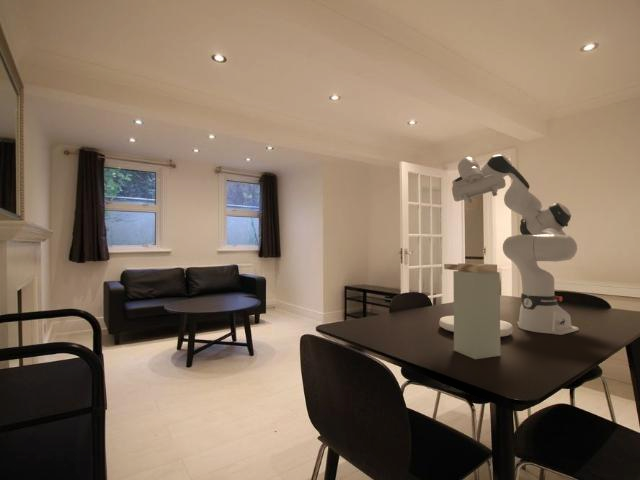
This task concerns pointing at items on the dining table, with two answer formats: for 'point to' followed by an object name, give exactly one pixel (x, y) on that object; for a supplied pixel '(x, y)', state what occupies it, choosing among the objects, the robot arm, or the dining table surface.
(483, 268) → the wooden paddle
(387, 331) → the dining table surface
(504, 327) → the plate
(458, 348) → the shelf block
